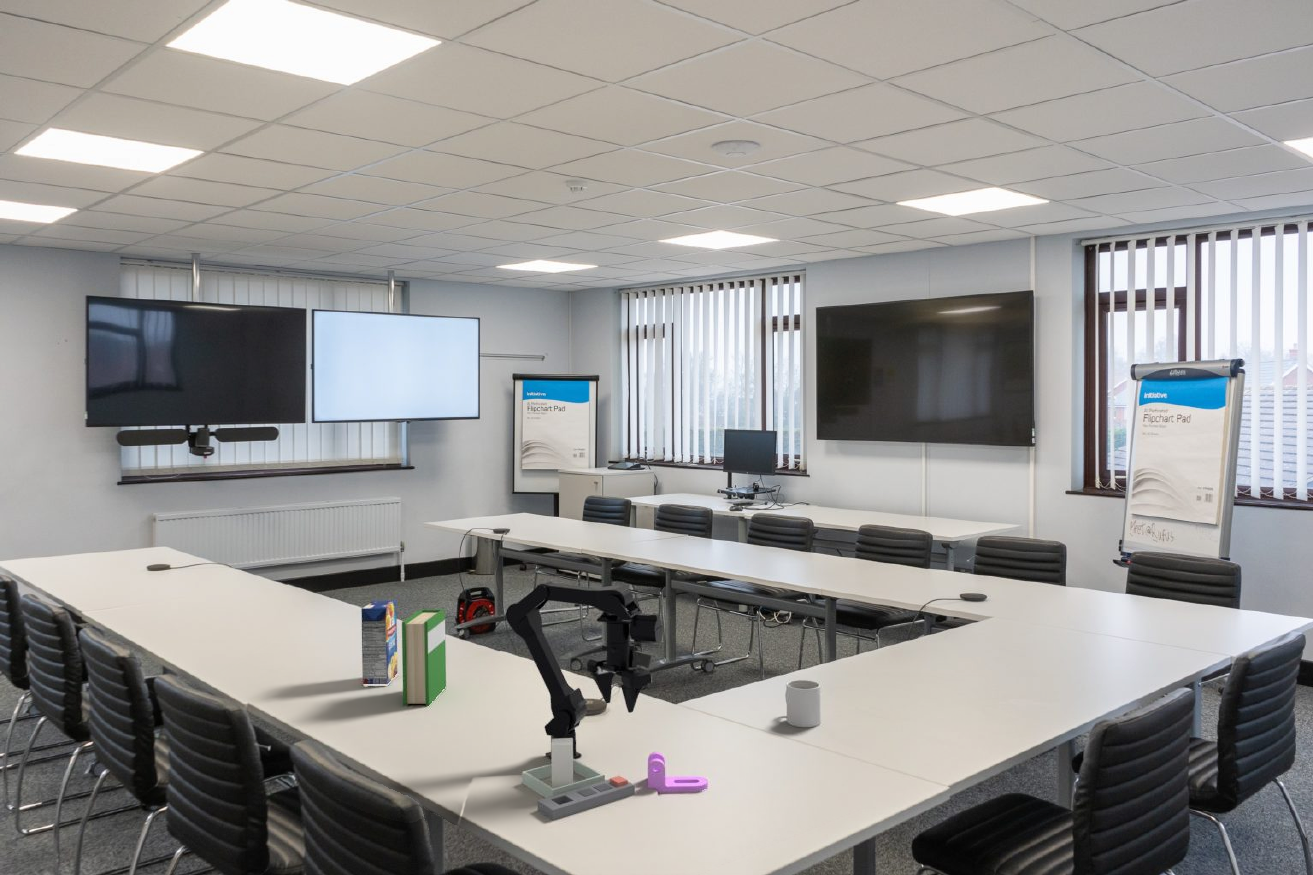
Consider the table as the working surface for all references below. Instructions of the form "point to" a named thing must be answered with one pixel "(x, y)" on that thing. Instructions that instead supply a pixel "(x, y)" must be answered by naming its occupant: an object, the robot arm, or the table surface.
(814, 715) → the mug
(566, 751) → the white long block
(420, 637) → the hardback book
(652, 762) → the bracket
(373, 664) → the juice carton
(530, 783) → the tray
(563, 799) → the power strip
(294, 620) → the table surface
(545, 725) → the robot arm
